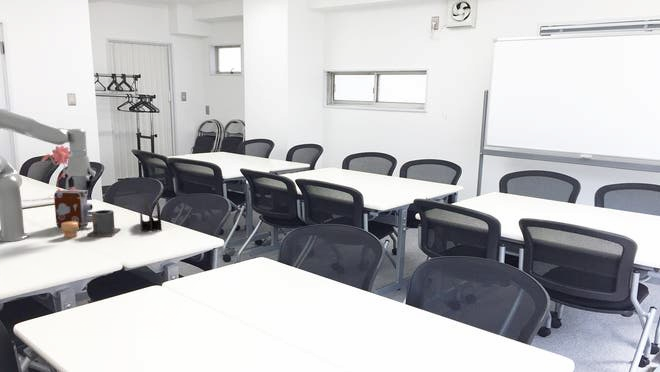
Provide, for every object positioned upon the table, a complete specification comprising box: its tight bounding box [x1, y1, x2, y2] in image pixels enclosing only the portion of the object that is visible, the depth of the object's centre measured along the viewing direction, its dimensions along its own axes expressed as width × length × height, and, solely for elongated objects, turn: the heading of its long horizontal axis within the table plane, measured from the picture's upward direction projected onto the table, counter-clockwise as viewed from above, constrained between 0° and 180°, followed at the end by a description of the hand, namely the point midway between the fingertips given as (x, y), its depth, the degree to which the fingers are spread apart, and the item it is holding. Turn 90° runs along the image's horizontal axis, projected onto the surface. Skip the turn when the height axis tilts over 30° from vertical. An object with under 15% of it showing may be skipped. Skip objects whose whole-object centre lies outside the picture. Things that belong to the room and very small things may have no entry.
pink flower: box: [41, 145, 77, 198], centre depth 350 cm, size 15×26×35 cm, turn 136°
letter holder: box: [139, 199, 163, 233], centre depth 271 cm, size 10×20×14 cm, turn 22°
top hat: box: [86, 209, 121, 238], centre depth 257 cm, size 12×12×11 cm
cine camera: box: [53, 189, 94, 229], centre depth 268 cm, size 9×19×20 cm, turn 89°
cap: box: [61, 221, 80, 239], centre depth 251 cm, size 7×7×7 cm
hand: (80, 187), depth 256 cm, fingers open, 9 cm apart
